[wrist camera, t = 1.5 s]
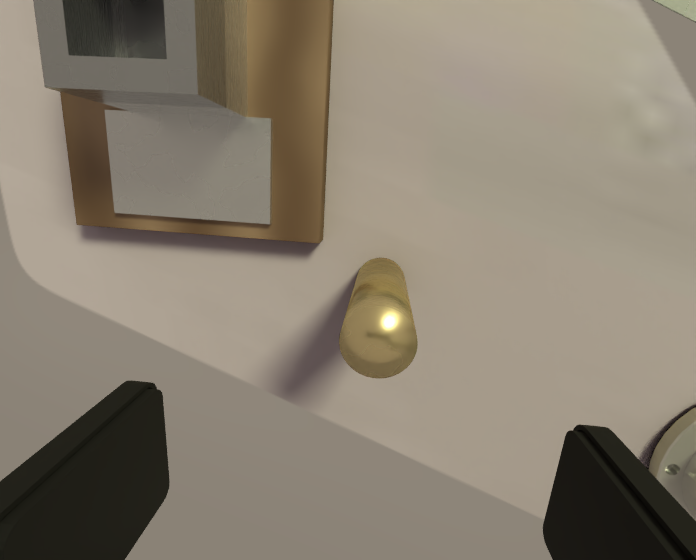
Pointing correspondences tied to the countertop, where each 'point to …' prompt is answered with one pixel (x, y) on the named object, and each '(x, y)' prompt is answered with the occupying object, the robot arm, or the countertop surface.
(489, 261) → the countertop surface
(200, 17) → the grey stepped block
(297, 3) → the walnut board
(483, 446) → the countertop surface
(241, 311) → the countertop surface
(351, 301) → the hinge pin
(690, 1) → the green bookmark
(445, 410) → the countertop surface
